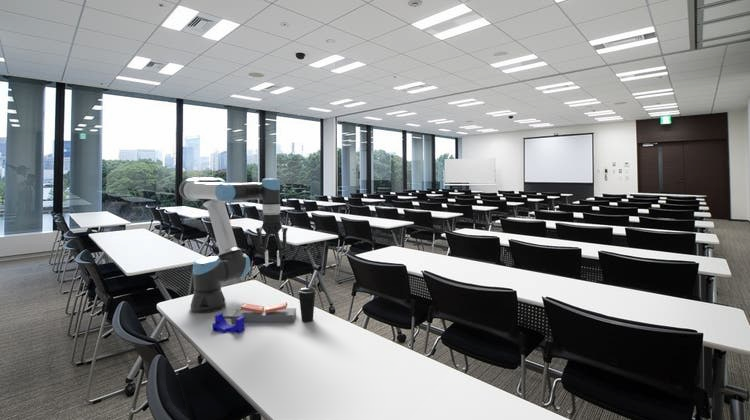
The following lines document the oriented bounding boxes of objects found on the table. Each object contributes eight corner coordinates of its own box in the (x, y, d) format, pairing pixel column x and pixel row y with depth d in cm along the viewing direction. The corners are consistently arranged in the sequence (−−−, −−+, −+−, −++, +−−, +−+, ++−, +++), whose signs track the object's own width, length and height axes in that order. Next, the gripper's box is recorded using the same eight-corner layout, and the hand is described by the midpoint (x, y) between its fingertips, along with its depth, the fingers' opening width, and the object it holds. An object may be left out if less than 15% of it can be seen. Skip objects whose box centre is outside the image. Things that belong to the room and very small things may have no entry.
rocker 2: (265, 313, 155) (264, 310, 155) (267, 309, 159) (266, 306, 159) (285, 308, 155) (285, 305, 155) (287, 305, 160) (286, 301, 160)
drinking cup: (318, 317, 160) (317, 273, 158) (313, 324, 153) (313, 278, 151) (301, 316, 161) (300, 272, 159) (296, 323, 154) (295, 277, 151)
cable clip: (212, 331, 146) (212, 317, 145) (220, 326, 150) (220, 312, 149) (237, 335, 142) (236, 321, 141) (244, 330, 146) (244, 316, 146)
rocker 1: (240, 309, 154) (240, 306, 154) (243, 305, 158) (243, 302, 158) (261, 313, 155) (261, 310, 155) (263, 309, 159) (264, 306, 159)
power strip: (219, 324, 152) (218, 316, 152) (225, 316, 160) (225, 309, 160) (293, 322, 154) (293, 315, 154) (296, 314, 162) (295, 307, 162)
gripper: (248, 214, 154) (250, 267, 156) (290, 214, 155) (291, 267, 157) (253, 212, 161) (254, 263, 164) (293, 212, 162) (293, 263, 165)
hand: (272, 265), depth 161 cm, fingers open, 4 cm apart
